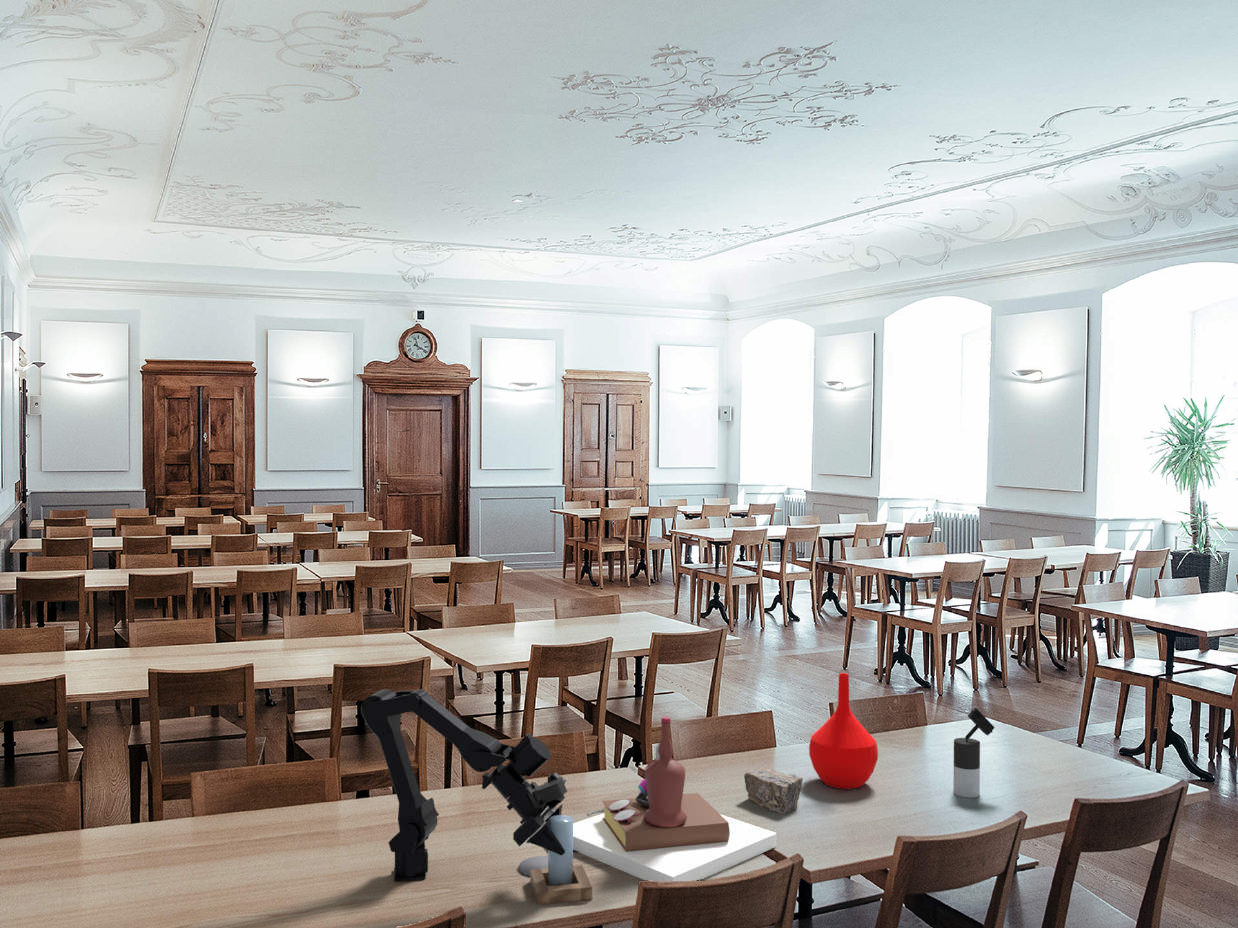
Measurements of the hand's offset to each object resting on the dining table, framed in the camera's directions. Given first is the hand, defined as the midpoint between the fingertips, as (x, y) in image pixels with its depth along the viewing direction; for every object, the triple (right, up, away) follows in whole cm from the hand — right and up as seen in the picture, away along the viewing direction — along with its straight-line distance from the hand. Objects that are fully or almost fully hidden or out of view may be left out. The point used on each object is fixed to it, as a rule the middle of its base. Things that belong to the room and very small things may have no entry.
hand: (567, 848), depth 207 cm
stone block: (+51, -9, +53) cm, 74 cm away
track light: (+105, -9, +62) cm, 122 cm away
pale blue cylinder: (-1, -7, 0) cm, 7 cm away
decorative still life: (+20, -9, +27) cm, 35 cm away
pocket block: (-1, -9, 0) cm, 9 cm away
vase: (+72, -9, +69) cm, 100 cm away
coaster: (-6, -8, +12) cm, 16 cm away
